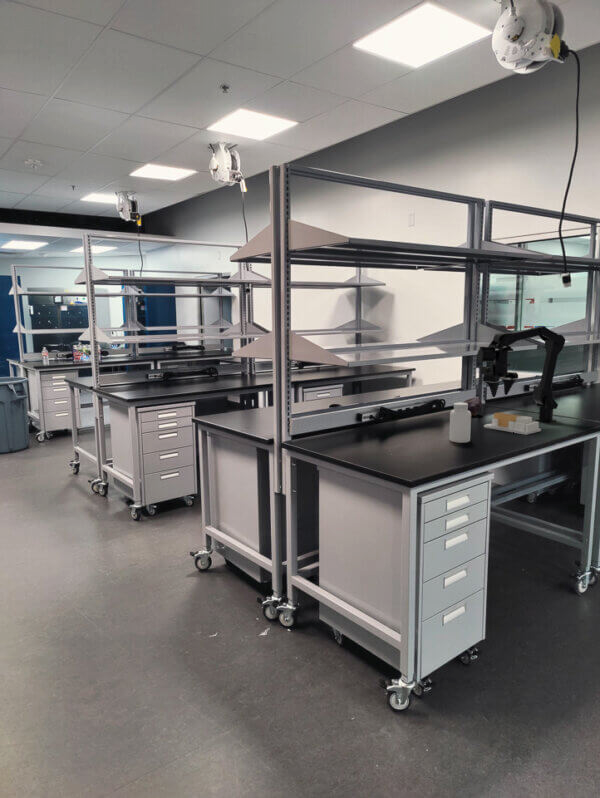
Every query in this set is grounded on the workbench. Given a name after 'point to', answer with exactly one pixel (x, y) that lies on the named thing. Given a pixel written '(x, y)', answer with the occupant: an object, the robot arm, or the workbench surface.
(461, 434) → the pill bottle
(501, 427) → the board
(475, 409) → the rock
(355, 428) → the workbench surface
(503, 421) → the two-tone rectangular block
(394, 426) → the workbench surface
